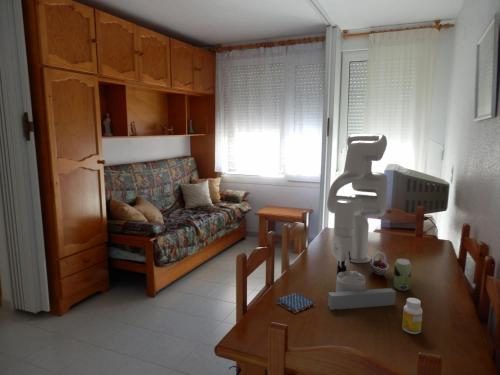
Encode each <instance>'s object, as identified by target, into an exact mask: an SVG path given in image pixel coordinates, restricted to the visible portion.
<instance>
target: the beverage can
mask: <svg viewBox="0 0 500 375" xmlns="http://www.w3.org/2000/svg"><path fill="white" fill-rule="evenodd" d="M393 267H394V269H393V270H394V271H393V287H394V288H395V289H396V290H399V291H403V292H405V291H407V290H409V289H410V288H411V279H412V278H411V277H412V263H411V262H410V260H409V259H407V258H397V259H396V261H395V262H394V266H393Z"/></svg>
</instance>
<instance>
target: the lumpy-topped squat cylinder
mask: <svg viewBox="0 0 500 375" xmlns="http://www.w3.org/2000/svg"><path fill="white" fill-rule="evenodd" d="M336 275H337V274H336ZM366 281H367V280H366V276H365V275H364V274H361V273H360V272H358V271H357V270H350V269H348V270H347V269H346V271H344V272H339V273H338V275H337V276H336V283H335V285H336V286H335V292H343V291H358V290H366Z"/></svg>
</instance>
